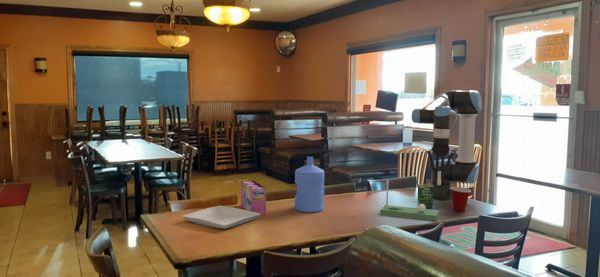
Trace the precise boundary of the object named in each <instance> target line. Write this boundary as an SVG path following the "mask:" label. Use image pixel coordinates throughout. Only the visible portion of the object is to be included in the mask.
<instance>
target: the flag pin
mask: <svg viewBox="0 0 600 277" xmlns="http://www.w3.org/2000/svg"><path fill="white" fill-rule="evenodd" d="M385 186H386V196H385V198H386V200H385V201H386V202H385V205H386V206H388V205H389V204H388V203H389V179H386V181H385Z"/></svg>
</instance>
